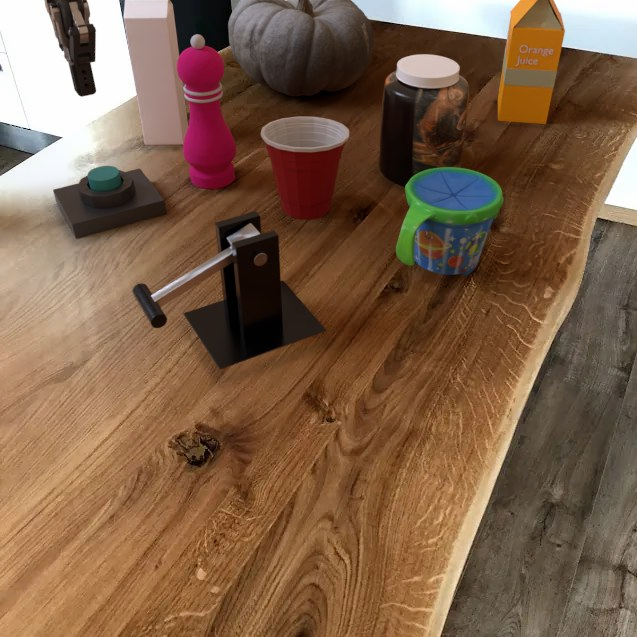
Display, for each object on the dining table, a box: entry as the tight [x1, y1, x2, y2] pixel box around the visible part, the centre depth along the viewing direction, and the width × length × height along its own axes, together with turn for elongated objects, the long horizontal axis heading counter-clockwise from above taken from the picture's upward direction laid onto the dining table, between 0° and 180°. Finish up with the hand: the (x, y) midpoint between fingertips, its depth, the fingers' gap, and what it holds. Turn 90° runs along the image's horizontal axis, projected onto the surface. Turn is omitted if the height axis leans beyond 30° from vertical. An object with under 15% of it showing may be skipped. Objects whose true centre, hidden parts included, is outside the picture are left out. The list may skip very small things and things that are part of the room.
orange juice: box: [497, 0, 566, 125], centre depth 114 cm, size 8×9×20 cm
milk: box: [123, 0, 189, 146], centre depth 107 cm, size 6×6×22 cm
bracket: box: [183, 210, 327, 370], centre depth 74 cm, size 12×10×13 cm
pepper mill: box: [177, 33, 237, 190], centre depth 97 cm, size 7×7×20 cm
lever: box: [131, 223, 260, 329], centre depth 70 cm, size 13×6×2 cm, turn 119°
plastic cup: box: [260, 115, 350, 221], centre depth 92 cm, size 11×11×12 cm
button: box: [86, 165, 122, 191], centre depth 94 cm, size 4×4×2 cm
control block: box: [52, 167, 168, 240], centre depth 96 cm, size 12×10×4 cm
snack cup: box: [395, 167, 505, 277], centre depth 84 cm, size 16×10×10 cm
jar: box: [378, 53, 470, 187], centre depth 100 cm, size 12×12×15 cm
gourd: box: [227, 0, 375, 97], centre depth 126 cm, size 25×25×17 cm
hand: (86, 93), depth 87 cm, fingers closed
